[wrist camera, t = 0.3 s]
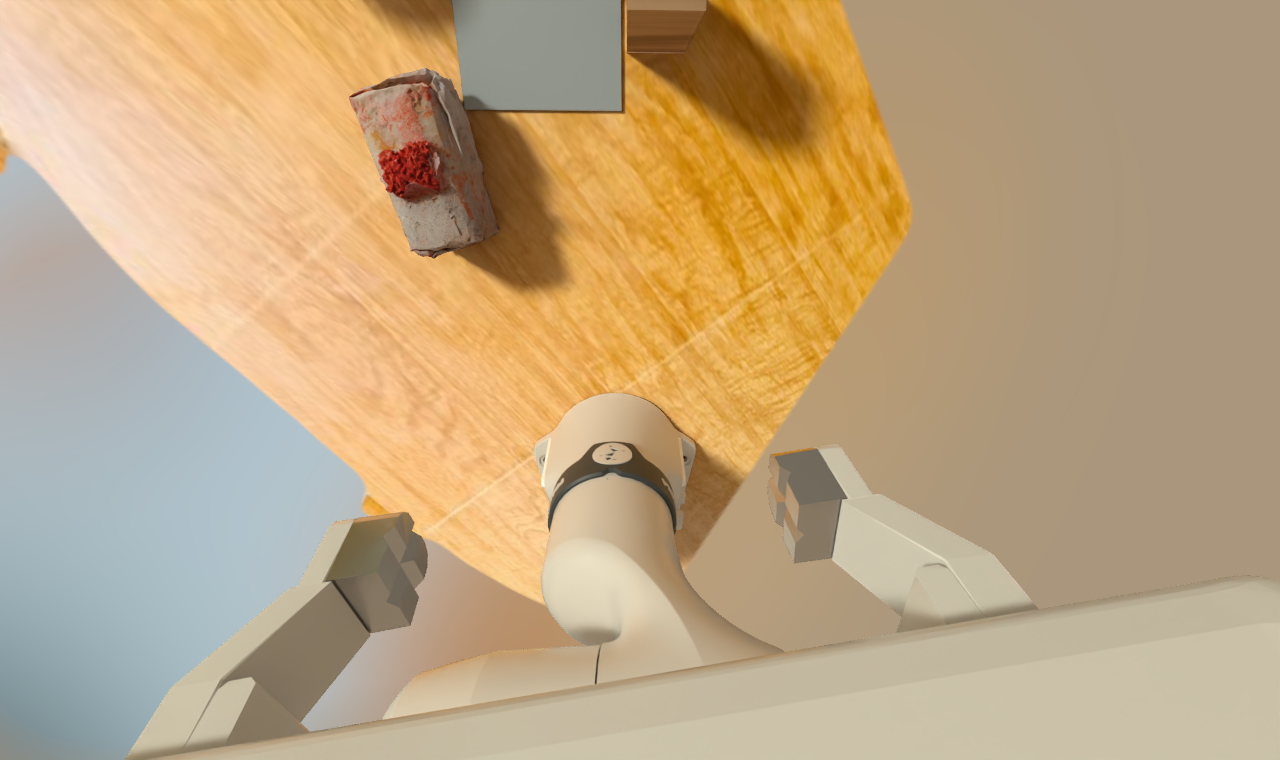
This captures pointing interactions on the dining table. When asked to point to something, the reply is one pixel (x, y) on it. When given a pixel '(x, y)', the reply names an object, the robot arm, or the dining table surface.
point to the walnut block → (662, 25)
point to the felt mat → (539, 54)
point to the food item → (427, 160)
